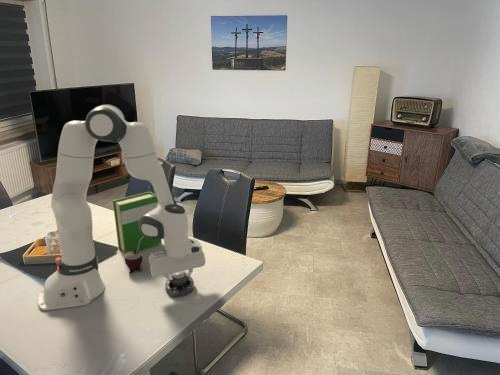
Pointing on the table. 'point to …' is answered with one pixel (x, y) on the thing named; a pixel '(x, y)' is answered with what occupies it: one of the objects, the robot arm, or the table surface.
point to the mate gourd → (134, 259)
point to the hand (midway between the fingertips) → (179, 280)
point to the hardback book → (133, 220)
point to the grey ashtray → (179, 289)
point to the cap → (179, 279)
